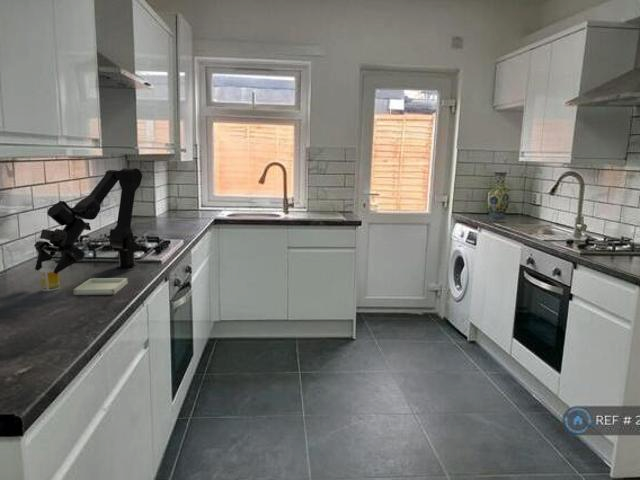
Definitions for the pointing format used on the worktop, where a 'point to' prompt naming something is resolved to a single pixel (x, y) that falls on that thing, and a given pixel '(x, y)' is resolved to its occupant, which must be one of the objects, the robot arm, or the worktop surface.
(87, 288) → the sage tray
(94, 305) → the worktop surface
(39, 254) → the robot arm
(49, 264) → the supplement bottle
